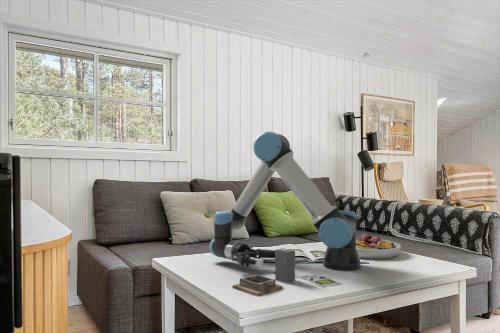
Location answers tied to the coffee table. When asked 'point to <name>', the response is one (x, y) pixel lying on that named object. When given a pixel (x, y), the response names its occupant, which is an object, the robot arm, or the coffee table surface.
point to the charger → (285, 265)
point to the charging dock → (257, 285)
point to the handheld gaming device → (320, 280)
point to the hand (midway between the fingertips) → (275, 261)
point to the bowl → (376, 247)
